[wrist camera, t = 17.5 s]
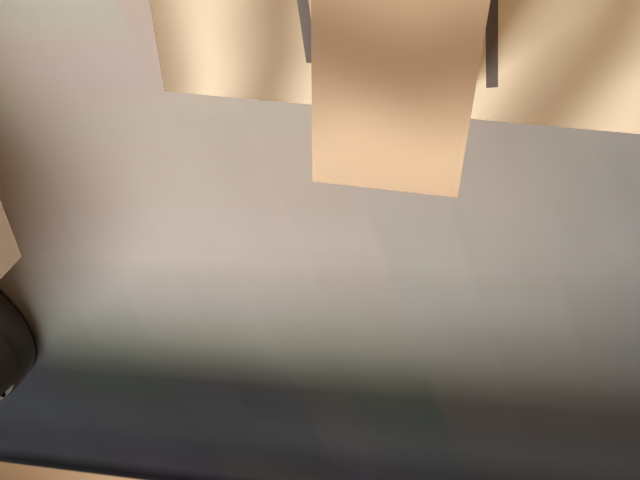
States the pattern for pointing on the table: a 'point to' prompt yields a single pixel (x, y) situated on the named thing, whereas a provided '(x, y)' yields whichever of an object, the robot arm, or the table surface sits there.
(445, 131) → the sanding block
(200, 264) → the table surface
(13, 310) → the robot arm
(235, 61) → the board
